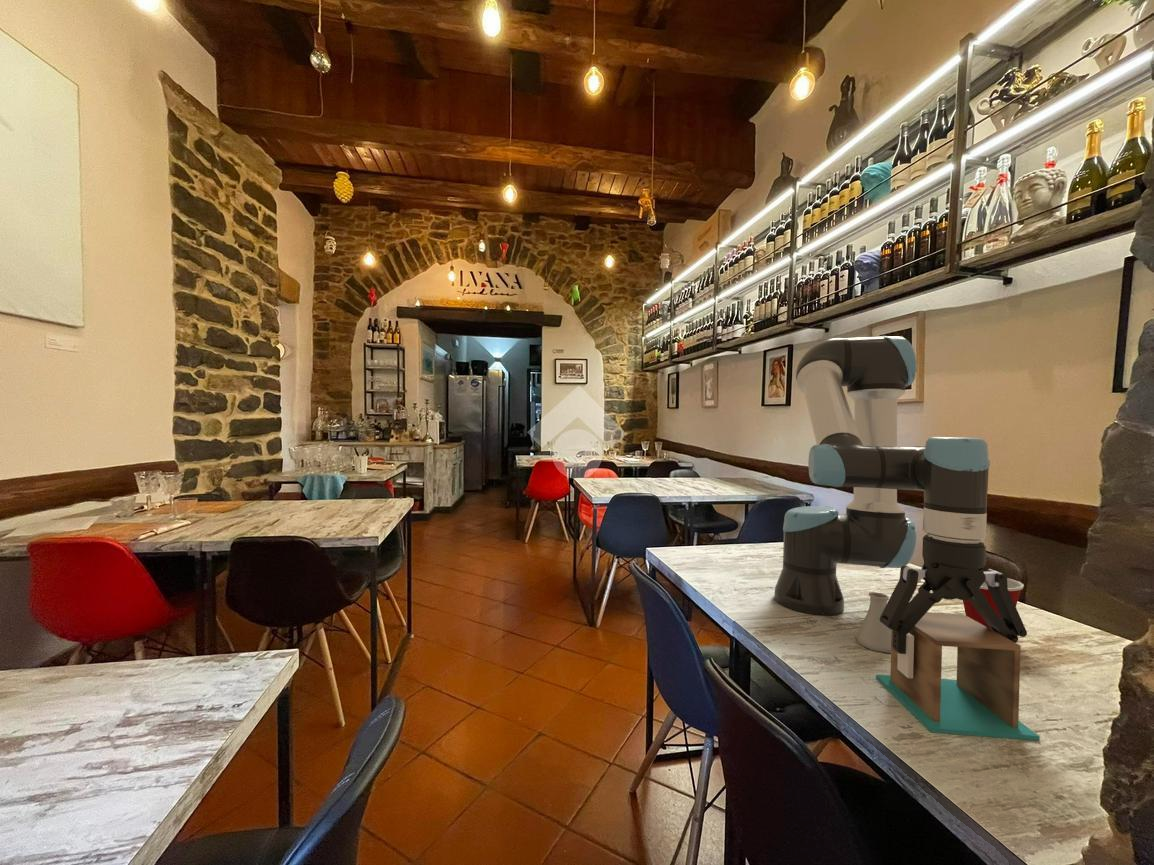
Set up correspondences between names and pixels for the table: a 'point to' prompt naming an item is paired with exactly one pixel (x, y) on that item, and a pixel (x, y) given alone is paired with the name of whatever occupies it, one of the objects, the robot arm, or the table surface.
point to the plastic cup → (1013, 589)
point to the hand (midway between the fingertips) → (949, 676)
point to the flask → (875, 626)
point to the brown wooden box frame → (962, 665)
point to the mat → (960, 713)
